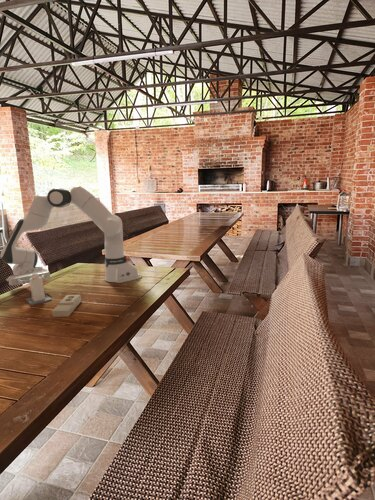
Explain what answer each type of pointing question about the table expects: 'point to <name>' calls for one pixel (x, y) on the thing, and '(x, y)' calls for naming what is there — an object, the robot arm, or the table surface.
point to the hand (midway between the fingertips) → (33, 280)
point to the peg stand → (38, 301)
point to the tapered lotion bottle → (37, 287)
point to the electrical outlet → (66, 305)
